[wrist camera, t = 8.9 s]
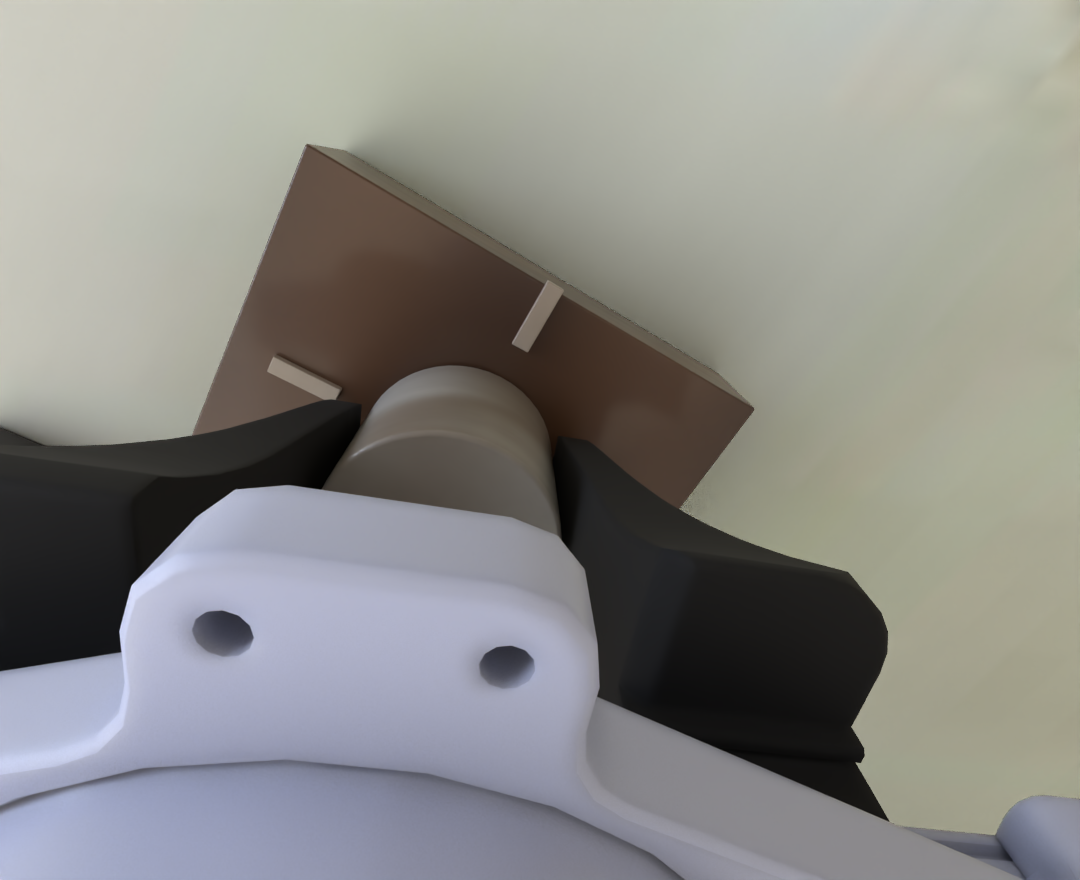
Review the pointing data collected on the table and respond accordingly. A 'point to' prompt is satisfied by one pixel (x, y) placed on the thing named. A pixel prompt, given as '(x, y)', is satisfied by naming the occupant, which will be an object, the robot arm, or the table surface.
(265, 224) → the table surface
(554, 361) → the dimmer panel
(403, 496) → the dimmer knob
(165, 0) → the table surface
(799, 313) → the table surface
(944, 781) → the table surface
